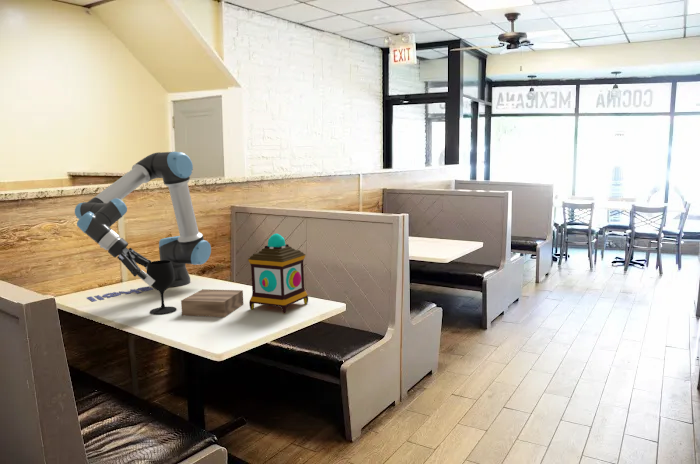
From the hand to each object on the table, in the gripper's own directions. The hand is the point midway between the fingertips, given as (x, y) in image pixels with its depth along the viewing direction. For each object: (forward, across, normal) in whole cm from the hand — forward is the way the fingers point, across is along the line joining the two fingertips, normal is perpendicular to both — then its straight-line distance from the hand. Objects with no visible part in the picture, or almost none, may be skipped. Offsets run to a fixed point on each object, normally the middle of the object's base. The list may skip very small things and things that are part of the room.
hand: (156, 279), depth 218 cm
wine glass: (+10, -1, -8) cm, 13 cm away
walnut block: (+24, +2, +6) cm, 25 cm away
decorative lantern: (+43, +3, +25) cm, 50 cm away
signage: (-7, -35, -26) cm, 44 cm away
